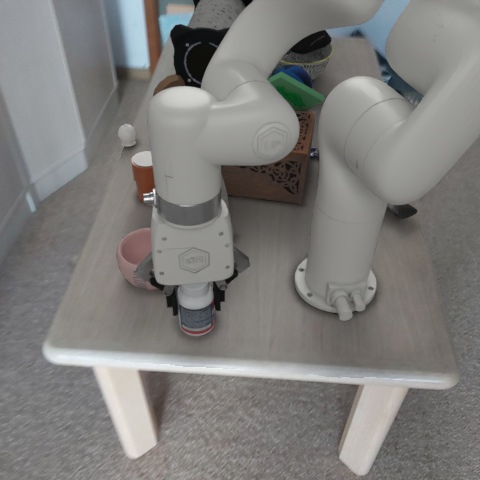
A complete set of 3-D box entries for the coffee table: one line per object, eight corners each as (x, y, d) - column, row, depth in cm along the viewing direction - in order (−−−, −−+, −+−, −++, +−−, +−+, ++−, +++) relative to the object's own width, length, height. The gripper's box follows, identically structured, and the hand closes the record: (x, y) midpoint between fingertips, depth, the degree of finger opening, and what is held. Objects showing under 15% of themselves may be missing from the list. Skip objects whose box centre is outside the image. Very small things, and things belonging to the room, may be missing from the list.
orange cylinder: (167, 203, 100) (163, 166, 95) (136, 205, 100) (131, 168, 94) (165, 185, 104) (161, 149, 98) (135, 188, 103) (130, 151, 97)
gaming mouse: (271, 52, 125) (272, 33, 122) (316, 34, 132) (318, 16, 129) (291, 62, 122) (293, 43, 119) (336, 43, 129) (338, 24, 126)
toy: (250, 135, 117) (210, 117, 111) (252, 121, 117) (213, 102, 112) (322, 106, 99) (279, 82, 93) (325, 89, 99) (282, 64, 94)
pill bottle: (220, 331, 80) (219, 287, 74) (185, 341, 79) (181, 297, 72) (207, 306, 84) (206, 262, 77) (174, 315, 82) (169, 271, 76)
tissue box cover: (309, 160, 110) (315, 112, 102) (301, 203, 100) (307, 154, 93) (182, 145, 113) (179, 97, 105) (162, 186, 103) (157, 137, 96)
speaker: (252, 49, 144) (254, -16, 133) (239, 102, 125) (240, 32, 114) (195, 45, 145) (192, -20, 134) (172, 97, 126) (167, 27, 115)
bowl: (321, 100, 126) (325, 67, 120) (253, 89, 129) (254, 56, 123) (335, 70, 136) (339, 38, 131) (272, 61, 139) (274, 29, 134)
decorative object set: (218, 141, 114) (218, 120, 111) (119, 147, 112) (116, 126, 108) (215, 131, 117) (215, 110, 114) (118, 137, 115) (115, 115, 112)
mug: (177, 301, 84) (174, 272, 80) (113, 294, 85) (106, 265, 80) (192, 249, 92) (190, 220, 88) (133, 243, 93) (128, 214, 88)
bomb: (276, 125, 117) (264, 120, 131) (324, 104, 116) (307, 101, 130) (259, 78, 113) (248, 78, 127) (308, 56, 112) (292, 58, 126)
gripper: (114, 226, 62) (135, 333, 75) (267, 213, 64) (260, 319, 77) (114, 186, 66) (133, 293, 80) (255, 175, 68) (251, 281, 82)
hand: (195, 305), depth 78 cm, fingers closed on pill bottle, 5 cm apart
